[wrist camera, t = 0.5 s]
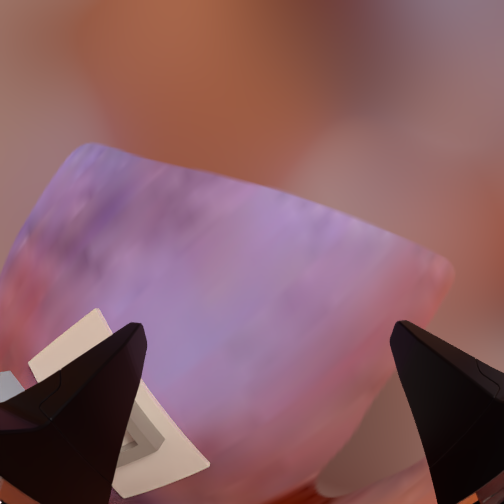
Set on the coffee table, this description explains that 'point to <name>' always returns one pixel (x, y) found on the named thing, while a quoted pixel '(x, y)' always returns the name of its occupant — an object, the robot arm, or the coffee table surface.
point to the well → (140, 422)
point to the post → (9, 386)
